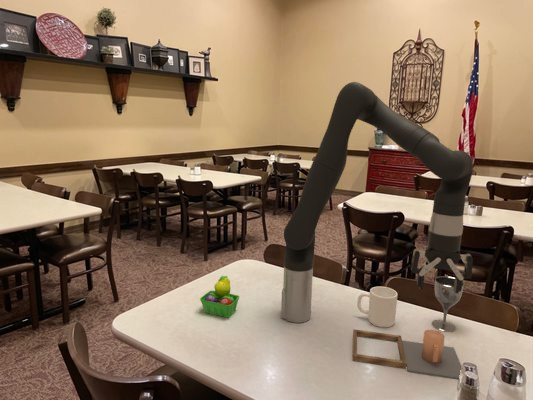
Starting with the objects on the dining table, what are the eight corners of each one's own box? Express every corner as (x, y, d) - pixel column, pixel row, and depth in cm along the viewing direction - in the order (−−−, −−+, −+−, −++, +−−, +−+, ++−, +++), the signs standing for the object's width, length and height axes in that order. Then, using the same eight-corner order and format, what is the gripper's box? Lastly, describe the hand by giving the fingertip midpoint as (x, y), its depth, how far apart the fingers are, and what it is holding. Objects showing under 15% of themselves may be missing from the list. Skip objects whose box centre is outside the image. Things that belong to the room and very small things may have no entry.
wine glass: (456, 322, 125) (461, 278, 122) (459, 334, 118) (465, 288, 114) (429, 317, 127) (434, 274, 124) (430, 329, 120) (436, 284, 117)
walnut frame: (352, 360, 104) (353, 355, 104) (353, 333, 117) (353, 329, 117) (406, 368, 101) (406, 363, 101) (400, 340, 114) (401, 335, 114)
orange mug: (420, 351, 108) (422, 328, 106) (439, 354, 107) (442, 331, 105) (424, 365, 101) (427, 341, 100) (444, 369, 100) (447, 344, 99)
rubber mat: (407, 371, 100) (407, 369, 100) (401, 341, 113) (401, 340, 113) (466, 380, 97) (466, 378, 97) (453, 348, 110) (453, 347, 110)
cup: (394, 330, 119) (397, 299, 117) (354, 322, 123) (356, 293, 121) (395, 317, 127) (397, 288, 125) (357, 310, 131) (359, 282, 129)
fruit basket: (198, 313, 127) (198, 281, 125) (212, 301, 135) (212, 271, 133) (229, 320, 123) (229, 287, 121) (242, 308, 131) (242, 277, 129)
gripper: (472, 228, 100) (464, 287, 103) (413, 224, 103) (407, 281, 106) (480, 237, 93) (471, 300, 96) (417, 232, 96) (411, 293, 99)
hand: (438, 290), depth 101 cm, fingers open, 8 cm apart
